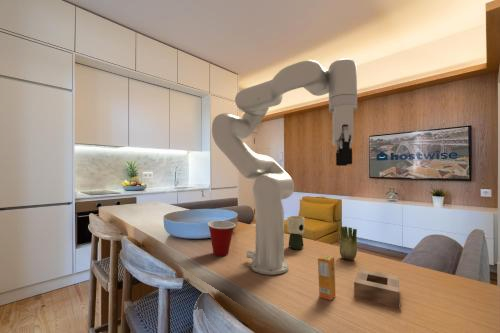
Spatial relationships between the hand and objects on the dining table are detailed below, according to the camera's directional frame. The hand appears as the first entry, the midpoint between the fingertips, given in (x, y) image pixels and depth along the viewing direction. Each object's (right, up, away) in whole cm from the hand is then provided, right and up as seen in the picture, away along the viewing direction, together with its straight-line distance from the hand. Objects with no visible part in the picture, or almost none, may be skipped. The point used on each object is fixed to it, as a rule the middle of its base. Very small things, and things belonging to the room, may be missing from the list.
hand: (343, 164), depth 68 cm
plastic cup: (-38, -35, +26) cm, 57 cm away
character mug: (-7, -35, +34) cm, 50 cm away
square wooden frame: (+7, -35, -4) cm, 36 cm away
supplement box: (-7, -34, -6) cm, 35 cm away
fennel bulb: (+10, -35, +21) cm, 42 cm away
